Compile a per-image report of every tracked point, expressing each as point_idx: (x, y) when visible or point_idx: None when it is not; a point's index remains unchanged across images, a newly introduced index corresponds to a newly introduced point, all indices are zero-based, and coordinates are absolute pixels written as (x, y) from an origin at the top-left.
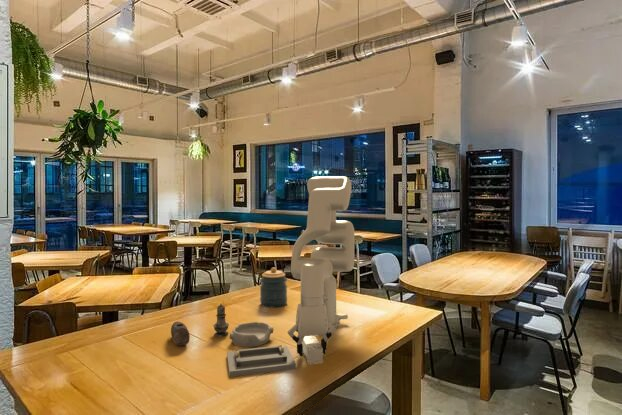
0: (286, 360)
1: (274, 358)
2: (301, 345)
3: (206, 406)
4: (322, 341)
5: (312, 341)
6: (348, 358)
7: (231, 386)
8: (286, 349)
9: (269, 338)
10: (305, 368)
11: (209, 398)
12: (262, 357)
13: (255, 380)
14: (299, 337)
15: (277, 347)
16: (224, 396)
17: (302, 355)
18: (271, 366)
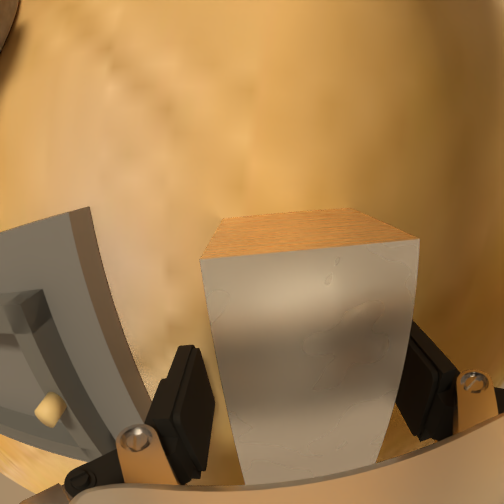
0: (115, 447)
1: (55, 449)
2: (193, 474)
3: (23, 484)
4: (423, 416)
5: (327, 422)
6: (481, 365)
7: (16, 455)
8: (74, 290)
9: (5, 28)
10: (229, 460)
11: (10, 468)
12: (6, 425)
13: (53, 461)
14: (155, 479)
15: (9, 332)
16: (29, 478)
17: (212, 406)
18: (67, 456)
